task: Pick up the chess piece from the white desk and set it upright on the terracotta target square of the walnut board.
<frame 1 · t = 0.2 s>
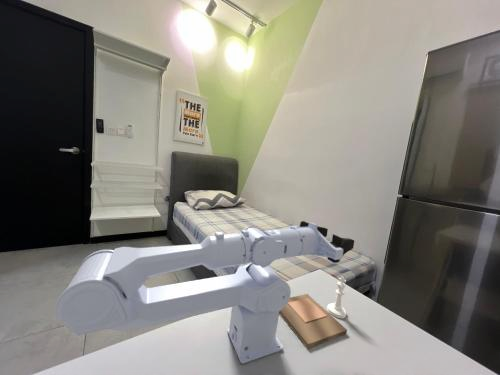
hand: (338, 237, 49), 21 cm above the table, tool horizontal, fingers open, 7 cm apart
walnut board: (306, 318, 50), on the table
chess piece: (336, 312, 54), on the table
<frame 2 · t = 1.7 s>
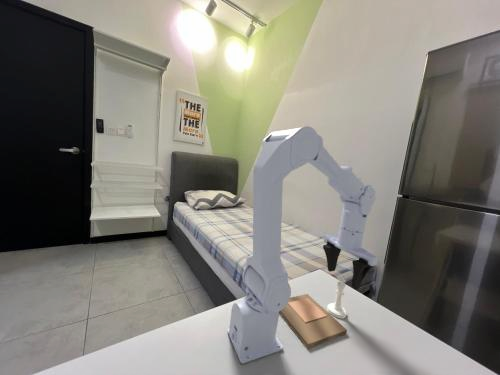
hand: (342, 278, 53), 10 cm above the table, tool pointing down, fingers open, 7 cm apart
nothing on the table moved.
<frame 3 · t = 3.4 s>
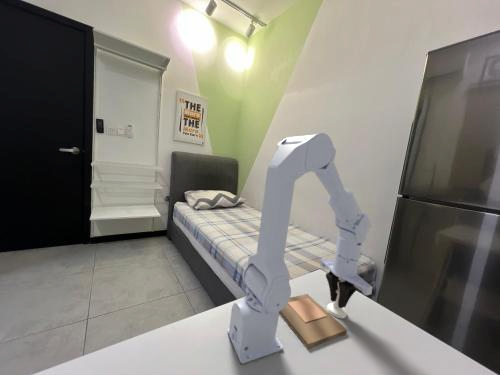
hand: (338, 303, 54), 2 cm above the table, tool pointing down, fingers closed on chess piece
chess piece: (336, 312, 54), on the table, touching gripper
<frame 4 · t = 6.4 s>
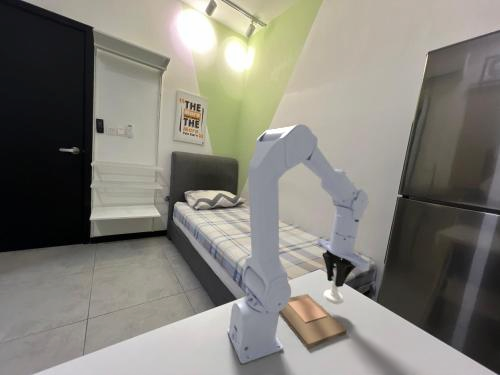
hand: (334, 282, 53), 8 cm above the table, tool pointing down, fingers closed on chess piece
chess piece: (333, 298, 54), point 4 cm above the table, touching gripper
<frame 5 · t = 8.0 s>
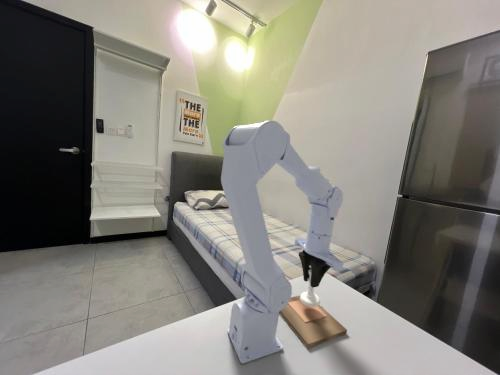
hand: (310, 283, 51), 8 cm above the table, tool pointing down, fingers closed on chess piece
chess piece: (309, 300, 52), point 3 cm above the table, touching gripper
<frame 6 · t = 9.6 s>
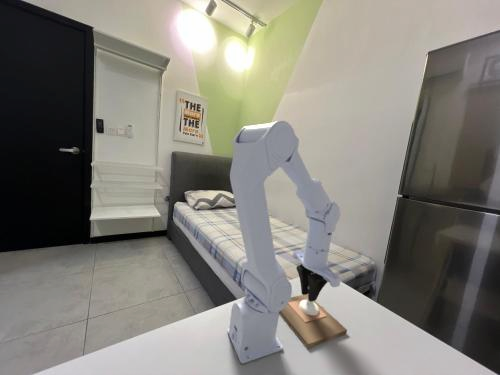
hand: (308, 296, 52), 5 cm above the table, tool pointing down, fingers closed on chess piece, 2 cm apart
chess piece: (308, 309, 52), point 1 cm above the table, touching gripper, walnut board
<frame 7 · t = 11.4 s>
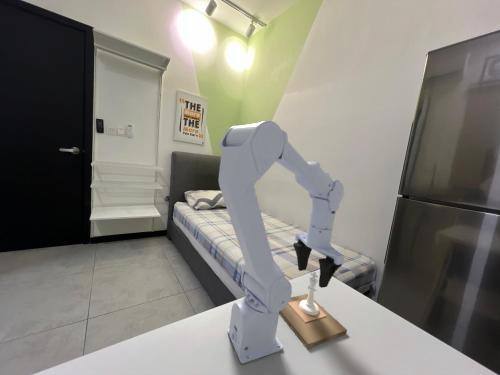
hand: (311, 277, 51), 10 cm above the table, tool pointing down, fingers open, 7 cm apart
chess piece: (308, 309, 52), point 1 cm above the table, touching walnut board
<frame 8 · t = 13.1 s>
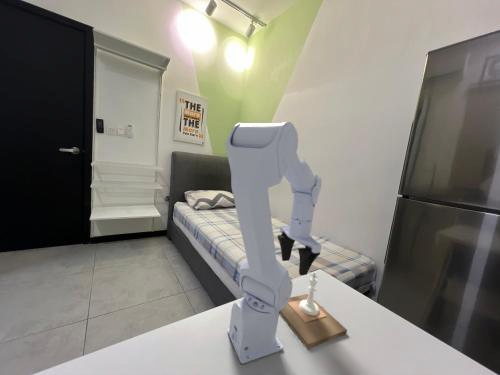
hand: (293, 266, 55), 10 cm above the table, tool pointing down, fingers open, 7 cm apart
nothing on the table moved.
at the end: chess piece 0.7 cm from the target spot on the walnut board, point 1.0 cm above the walnut board's base; chess piece tilted 0°; the gripper is holding nothing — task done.
